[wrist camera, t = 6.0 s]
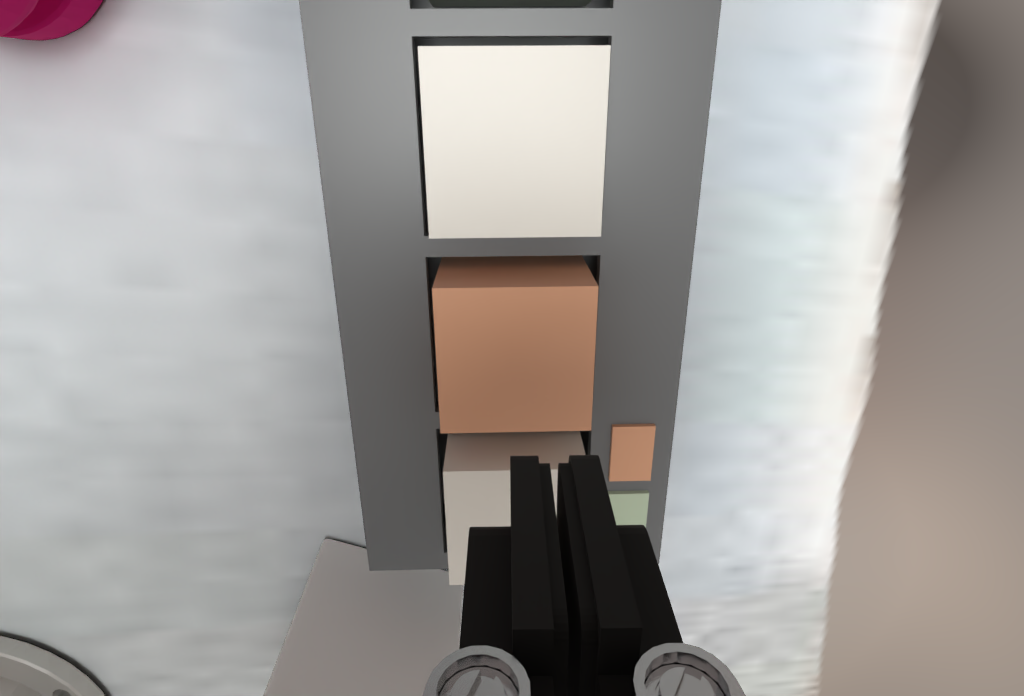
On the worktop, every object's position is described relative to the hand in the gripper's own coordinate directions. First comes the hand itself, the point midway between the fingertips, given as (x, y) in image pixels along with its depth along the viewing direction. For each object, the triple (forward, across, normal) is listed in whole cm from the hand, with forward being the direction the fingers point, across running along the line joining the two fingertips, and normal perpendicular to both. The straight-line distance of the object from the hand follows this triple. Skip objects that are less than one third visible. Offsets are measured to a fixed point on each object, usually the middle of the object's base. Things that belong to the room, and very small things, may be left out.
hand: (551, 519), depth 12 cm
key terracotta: (+12, +1, 0) cm, 12 cm away
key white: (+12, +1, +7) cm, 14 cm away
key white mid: (+12, +1, -6) cm, 13 cm away
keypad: (+14, +1, -3) cm, 15 cm away
